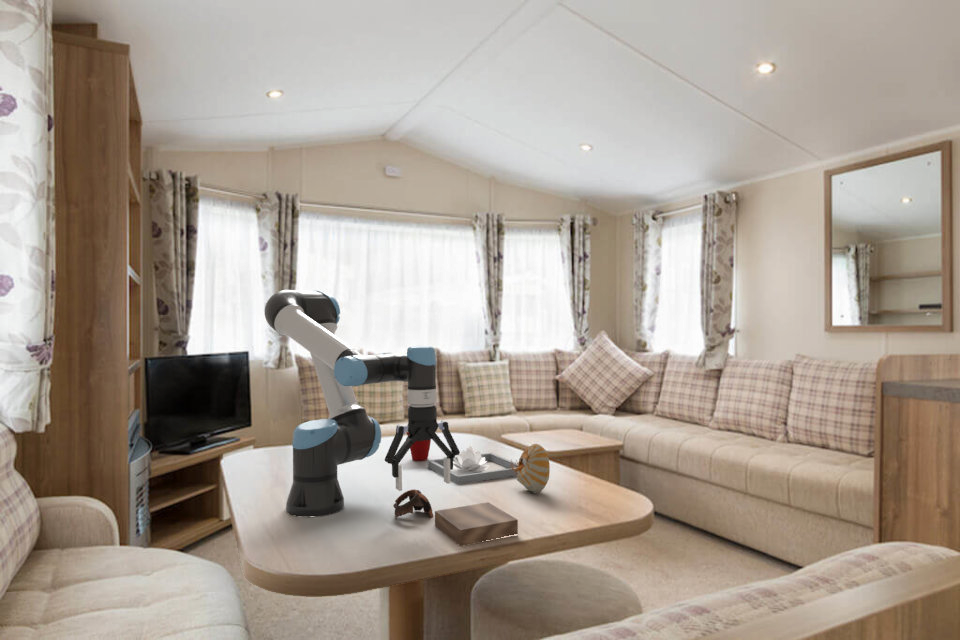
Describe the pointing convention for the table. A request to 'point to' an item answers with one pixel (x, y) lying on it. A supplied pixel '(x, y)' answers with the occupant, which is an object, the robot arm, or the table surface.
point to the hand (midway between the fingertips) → (423, 486)
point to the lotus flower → (469, 462)
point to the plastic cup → (420, 449)
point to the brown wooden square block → (475, 523)
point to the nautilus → (533, 468)
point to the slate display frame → (467, 478)
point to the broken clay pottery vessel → (412, 503)
